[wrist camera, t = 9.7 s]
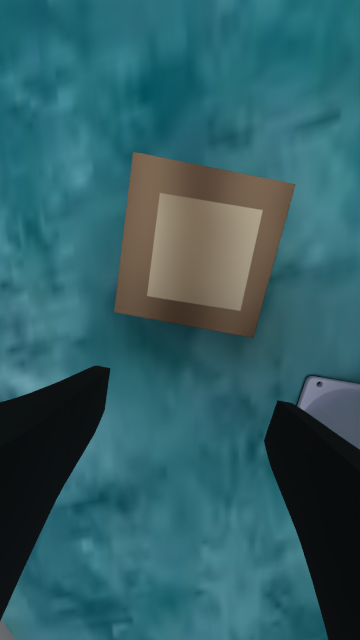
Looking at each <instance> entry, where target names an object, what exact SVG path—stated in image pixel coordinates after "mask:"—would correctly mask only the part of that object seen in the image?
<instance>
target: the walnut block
mask: <svg viewBox="0 0 360 640" xmlns="http://www.w3.org/2000/svg"><path fill="white" fill-rule="evenodd" d="M294 188H295V184H291V183H286V182H281V181H276V180H271V179H266V178H261V177H256V176H251V175H246V174H241V173H236V172H231V171H226V170H221V169H216V168H211V167H206V166H201V165H196V164H191V163H186V162H181V161H176V160H171V159H166V158H161V157H156V156H151V155H146V154H141V153H136V152H133V158H132V167H131V175H130V184H129V192H128V200H127V209H126V217H125V226H124V234H123V242H122V251H121V259H120V268H119V276H118V284H117V293H116V301H115V310H114V312H117V313H122V314H127V315H133V316H138V317H144V318H149V319H154V320H160V321H165V322H170V323H176V324H181V325H187V326H192V327H197V328H203V329H208V330H214V331H219V332H224V333H230V334H235V335H241V336H246V337H251V338H253V337H254V333H255V329H256V326H257V322H258V319H259V315H260V311H261V308H262V304H263V300H264V297H265V293H266V289H267V286H268V282H269V279H270V275H271V271H272V268H273V264H274V260H275V257H276V253H277V250H278V246H279V242H280V239H281V235H282V231H283V228H284V224H285V221H286V217H287V213H288V210H289V206H290V202H291V199H292V195H293V191H294ZM160 193H163V194H169V195H175V196H181V197H187V198H193V199H199V200H205V201H211V202H217V203H223V204H229V205H235V206H241V207H247V208H253V209H259V210H263V212H262V216H261V221H260V225H259V230H258V234H257V239H256V243H255V247H254V252H253V256H252V261H251V265H250V270H249V274H248V279H247V283H246V288H245V292H244V297H243V301H242V306H241V310H240V311H238V310H232V309H226V308H219V307H213V306H207V305H200V304H194V303H188V302H181V301H175V300H169V299H162V298H156V297H150V296H147V293H148V285H149V276H150V268H151V260H152V252H153V244H154V236H155V228H156V220H157V212H158V204H159V196H160Z"/></svg>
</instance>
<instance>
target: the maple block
mask: <svg viewBox="0 0 360 640" xmlns="http://www.w3.org/2000/svg"><path fill="white" fill-rule="evenodd" d="M262 212H263V210H259V209H253V208H247V207H241V206H235V205H229V204H223V203H217V202H211V201H205V200H199V199H193V198H187V197H181V196H175V195H169V194H163V193H160V196H159V204H158V212H157V220H156V228H155V236H154V244H153V252H152V260H151V268H150V276H149V285H148V293H147V296H150V297H156V298H162V299H169V300H175V301H181V302H188V303H194V304H200V305H207V306H213V307H219V308H226V309H232V310H238V311H240V310H241V306H242V301H243V297H244V292H245V288H246V283H247V279H248V274H249V270H250V265H251V261H252V256H253V252H254V247H255V243H256V239H257V234H258V230H259V225H260V221H261V216H262Z"/></svg>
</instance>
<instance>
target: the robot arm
mask: <svg viewBox="0 0 360 640" xmlns="http://www.w3.org/2000/svg"><path fill="white" fill-rule="evenodd" d="M109 374H110V368H106V367H101V366H93V367H91V368H88V369H86V370H84V371H82V372H79V373H77V374H75V375H73V376H71V377H68V378H66V379H64V380H62V381H59V382H57V383H55V384H52V385H50V386H47V387H44V388H42V389H39V390H37V391H34V392H32V393H29V394H26V395H23V396H20V397H17V398H14V399H11V400H7V401H4V402H1V403H0V620H1V618H2V616H3V614H4V611H5V609H6V607H7V605H8V602H9V600H10V598H11V596H12V593H13V591H14V589H15V587H16V585H17V582H18V580H19V578H20V576H21V573H22V571H23V569H24V567H25V565H26V563H27V560H28V558H29V556H30V554H31V552H32V550H33V547H34V545H35V543H36V541H37V539H38V537H39V534H40V532H41V530H42V528H43V526H44V524H45V522H46V520H47V518H48V516H49V514H50V511H51V509H52V507H53V505H54V503H55V501H56V499H57V497H58V495H59V494H60V492H61V490H62V488H63V486H64V484H65V483H66V481H67V479H68V478H69V476H70V474H71V473H72V471H73V469H74V467H75V466H76V464H77V462H78V461H79V459H80V457H81V456H82V454H83V452H84V451H85V449H86V447H87V445H88V444H89V442H90V440H91V439H92V437H93V435H94V433H95V431H96V429H97V427H98V425H99V422H100V420H101V418H102V415H103V413H104V410H105V403H106V396H107V388H108V381H109ZM317 382H320V384H318V385H317ZM264 442H265V447H266V451H267V455H268V459H269V462H270V466H271V468H272V471H273V474H274V476H275V479H276V481H277V484H278V486H279V489H280V491H281V494H282V496H283V499H284V501H285V504H286V506H287V509H288V511H289V514H290V516H291V519H292V521H293V524H294V526H295V529H296V531H297V534H298V537H299V540H300V543H301V546H302V549H303V552H304V555H305V559H306V562H307V565H308V568H309V572H310V575H311V578H312V582H313V585H314V589H315V592H316V596H317V599H318V603H319V606H320V610H321V614H322V617H323V621H324V624H325V628H326V632H327V636H328V640H360V384H357V383H351V382H346V381H340V380H334V379H328V378H322V377H317V376H310V377H308V378H307V379H306V382H305V385H304V387H303V390H302V393H301V396H300V399H299V402H298V405H297V406H296V405H294V404H292V403H288V402H283V401H277V404H276V407H275V410H274V413H273V416H272V419H271V421H270V424H269V427H268V430H267V433H266V436H265V439H264Z"/></svg>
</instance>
